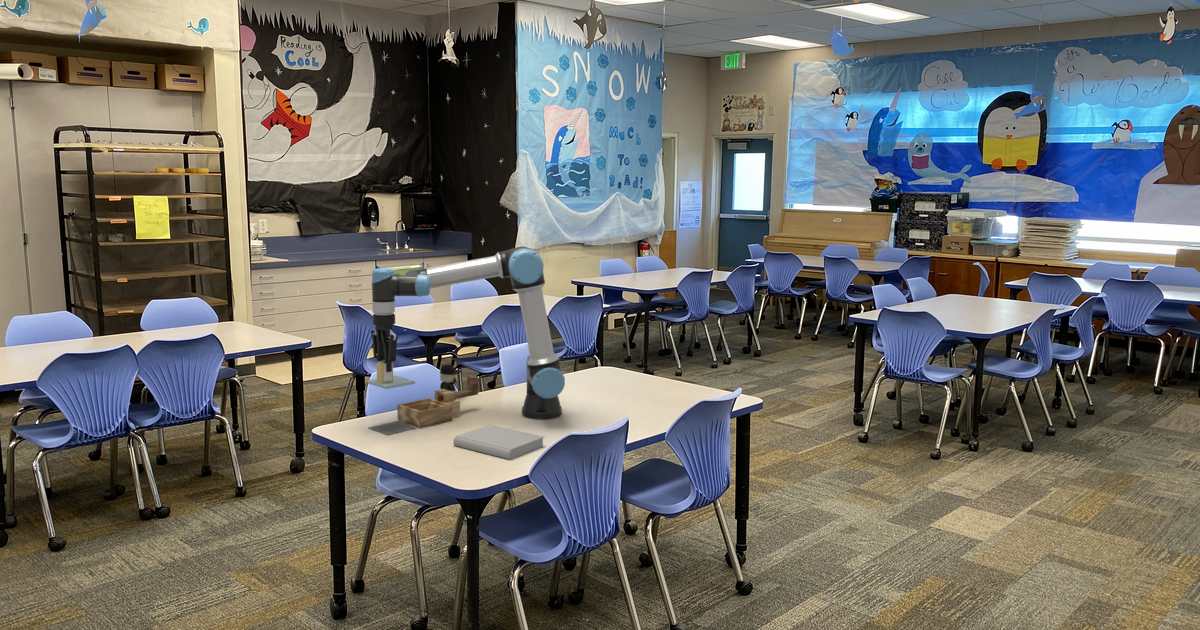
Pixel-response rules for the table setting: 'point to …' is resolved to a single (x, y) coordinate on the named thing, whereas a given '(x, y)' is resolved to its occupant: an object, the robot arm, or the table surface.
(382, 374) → the lid
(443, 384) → the toy
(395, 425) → the mat
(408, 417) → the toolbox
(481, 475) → the table surface
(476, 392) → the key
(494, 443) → the book
